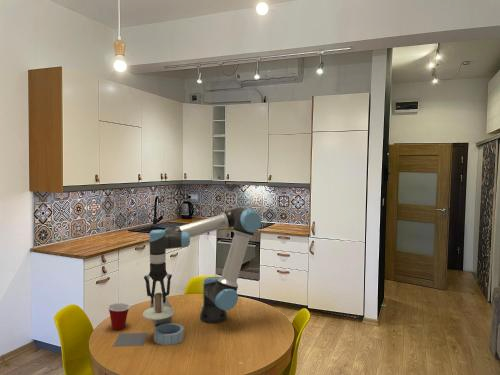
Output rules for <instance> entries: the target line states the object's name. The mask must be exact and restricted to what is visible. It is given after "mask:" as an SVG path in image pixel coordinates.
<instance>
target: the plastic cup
mask: <svg viewBox="0 0 500 375" xmlns="http://www.w3.org/2000/svg"><path fill="white" fill-rule="evenodd" d="M107 308H108V312H109V315H110V324H111V328H112V330H114V331H121V330H123V329H125V327H126V322H127V316H128V313H129V309H130V308H131V305H129V304H128V303H123V302H117V303H112V304H110V305H108V306H107Z"/></svg>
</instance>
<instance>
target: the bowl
mask: <svg viewBox="0 0 500 375" xmlns="http://www.w3.org/2000/svg"><path fill="white" fill-rule="evenodd" d="M184 328H185V327H184V326H183V325H182V324H180V323H176V322H174V323H173V322H172V323H171V322H170V323H166V324H161V325H156V327H154V330H153V341H154V342H155V343H156V344H157V345H162V346H171V345H174V344H175V345H179V344H181V343H182V342H183V341H184V338H185V336H184V335H185V334H184V332H185V329H184Z"/></svg>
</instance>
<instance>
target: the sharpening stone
mask: <svg viewBox="0 0 500 375" xmlns="http://www.w3.org/2000/svg"><path fill="white" fill-rule="evenodd" d="M154 296H155V294H154ZM149 297H150V296H149ZM150 299H151V297H150ZM164 306H167V307H171V308H173V307H172V305H171V303H170V302H169V300H168V298H167V297H166V302H165V303H164ZM152 307H154V303H153V304H152V303H151V302H150V308H152ZM172 317H173V315H172V316H170V317H168V318H165V319H160V320H152V322H153V325H154V326H159V325H162V324H166V323H171V321H172Z"/></svg>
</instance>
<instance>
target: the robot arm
mask: <svg viewBox="0 0 500 375" xmlns="http://www.w3.org/2000/svg"><path fill="white" fill-rule="evenodd" d="M261 225H262V219H261V215H260V214H259V213H258V212H257V211H255V210H254V209H252V208H251V209H250V208H245V207H235V208H232V209H229V210H226V211H222V212H221V213H220V214H218V215H215V216H211V217H208V218H205V219H201V220H196V221H194V222H191V223H186V224H183V225H180V226H175V227H166V228H164V229H153V230H150V232H149V238H148V239H149V240H148V242H149V273H148V274H145V275H144V276H143V279H144V281H145V287H146V296H147V297H151V298H150V304H151V303H152V304H153V303H154V311H155V310H156V307H155V296H154V295H155V294H156V292H155V291H156V286H157V282H159V284H160V289H161V293H162V297H161V310H163V309H164V303H165V302H166V298H167V296H169V295H170V293H171V292H170V291H171V278H172V276H173V274H169V272H168V271H167V263H166V261H167V258H166V251H167V250H169V249H170V250H171V249H180V248H187V247H189V246H190V244H191V238H194V237H198V236H201V235H204V234H208V233H210V232H214V231H218V230H221V229H226V230H227V229H230V228H231V229H232V228H233V229H232V231H233V234H234V235H233V237H232V241H231V244H230V248H229V251H228V254H227V256H226V257H227V258H226V260H225V263H224V267H223V270H222V273H221V276H208V277H205V278H204V279H203V284H202V285H203V290H202V291H203V298H202V299H203V300H202V301H203V302H202V304H203V305H202V308H201V309H200V310H201V311H200V314H199V319H200V321H201V322H204V323H208V324H218V323H222V322H225V321H226V320H227V318H228V313H227V311H229V310H231V309H233V308H234V307H235V306H236V305H237V303H238V301H239V295H238V292H237V291H238V287H239V285H238V278H239V274H240V271H241V268H242V265H243V261H244V258H245V255H246V251H247V250H248V249H247V248H248V245H249V241H250V240H251V239H252V238H253V237H254V235H255V232H257V231H258V230H260V228H261ZM150 278H151V280H152V286H150V285H151V284H150ZM165 278H166V279H167V281H166V288H165V281H164V279H165Z"/></svg>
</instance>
